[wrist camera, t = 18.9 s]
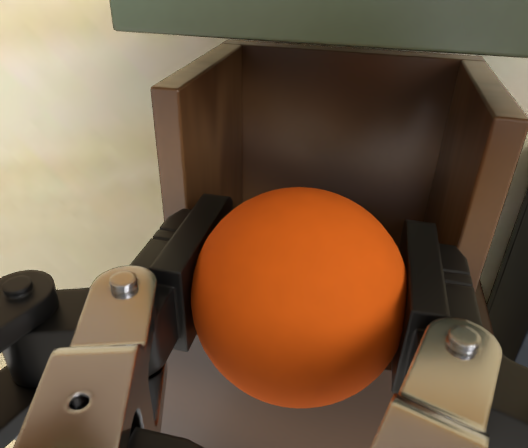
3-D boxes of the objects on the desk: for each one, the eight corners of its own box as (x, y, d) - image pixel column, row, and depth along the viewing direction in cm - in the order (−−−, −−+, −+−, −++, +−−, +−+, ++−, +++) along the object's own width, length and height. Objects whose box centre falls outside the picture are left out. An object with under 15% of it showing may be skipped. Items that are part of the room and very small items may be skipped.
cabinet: (211, 192, 23) (120, 319, 15) (466, 224, 20) (510, 393, 13) (219, 384, 30) (160, 537, 22) (409, 423, 28) (416, 607, 20)
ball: (423, 164, 11) (443, 295, 7) (390, 319, 13) (390, 481, 9) (224, 144, 12) (139, 248, 8) (228, 293, 14) (165, 430, 10)
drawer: (208, -79, 16) (95, -90, 10) (538, -73, 14) (648, -82, 8) (219, 252, 23) (158, 363, 17) (440, 286, 21) (459, 424, 15)
